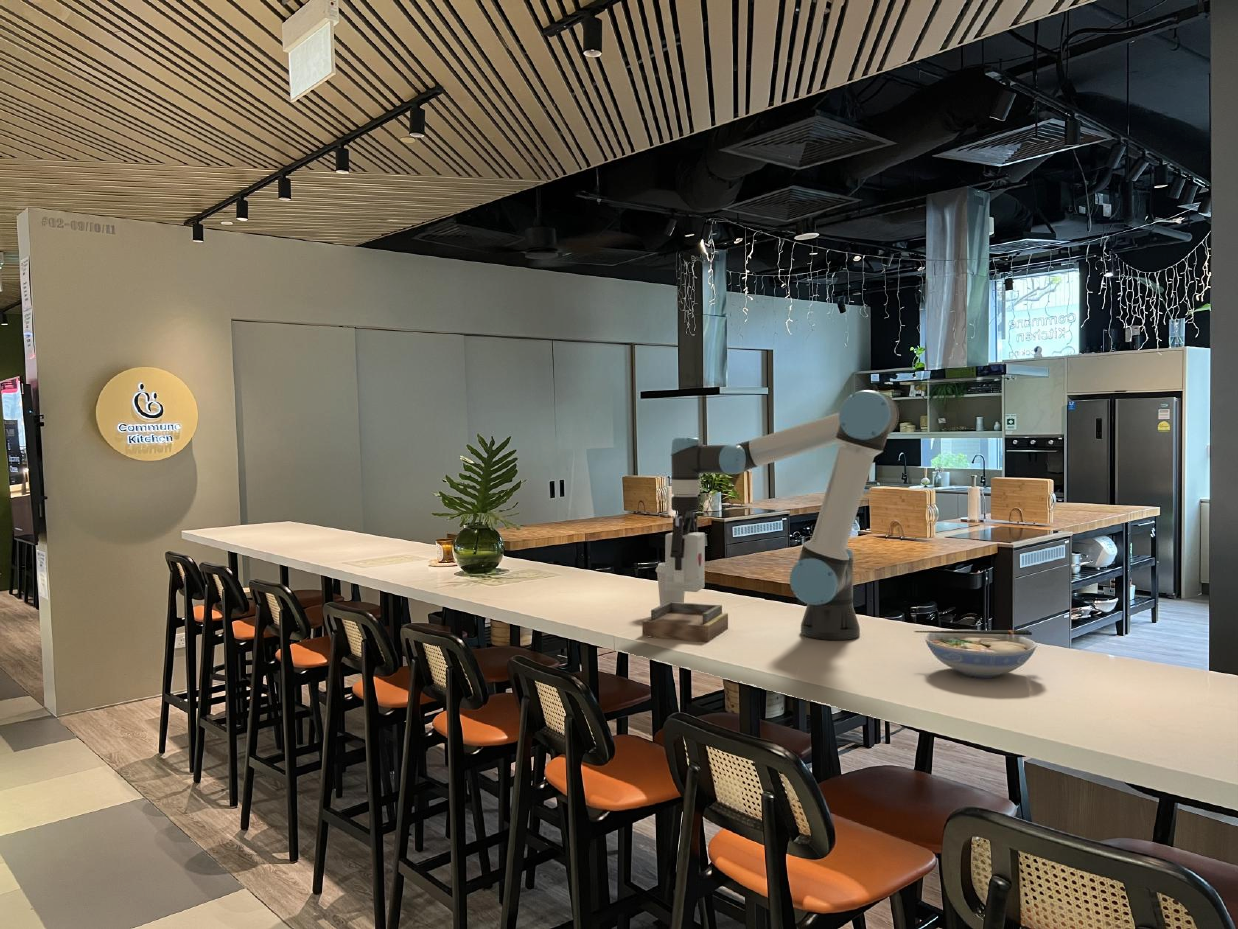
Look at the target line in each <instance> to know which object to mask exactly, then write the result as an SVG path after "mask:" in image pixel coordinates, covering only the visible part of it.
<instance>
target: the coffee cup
mask: <svg viewBox="0 0 1238 929" xmlns="http://www.w3.org/2000/svg"><path fill="white" fill-rule="evenodd" d="M655 572H656V574H657V584H658V597H659V606H661V605H663V604H665V603H667V602H679V603H685V593H686V591H669V590H665V562H660V563H658V565H657V567H656V568H655Z"/></svg>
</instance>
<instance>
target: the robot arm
mask: <svg viewBox="0 0 1238 929" xmlns="http://www.w3.org/2000/svg"><path fill="white" fill-rule="evenodd" d="M899 418H900V412H899V407H898V405H897V404H896V402H895V401H894V399H892V397H890V396H889V395H887V394H885V393H881V392H879V391H876V390H871V389H862V390H858V391H855V392H853V393H851V394H850V395H848V397H846V399H845V400H844V401H843V402H842V404H841V406H840V408H839V412H836V413H833V414H830V415H827V416H824V417H821V418H818V419H814V420H812V421H808V422H805V423H801V424H798V425H795V426H792V427H789V428H785V429H782V430H779V431H775V432H773V433H769V434H766V435H762V436H760V437H756V438H754V439H750V440H748V441H743V442H740V443H738V444H737V443H736V444H716V445H715V444H713V445H712V444H711V445H705V444H701V441H700V438H698V437H675V438H673V440H672V442H671V453H670V456H671V458H670V459H671V460H670V462H671V482H670V483H669V486H670V487H671V494H672V495H673V496H672V497H671V498H670V499H671V510H672V511H675V512H677V516H676V517H673V518H672V532H671V533H672V546H671V554H670V556H671V557H673V558H674V582H677V583H685V558H683V555H684V546H685V538H682V537H683V535H687V534H688V533H694V532H699V527H698V526H699V525H698V521H699V520H698V518H699V516H698V514H694V512H697V511H698V512H699V510H700V507H701V504H700V502H701V500H700V499H701V498H700V497H699V496H698V495H700V493H701V482H700V480H701V477H700V474H716V475H718V474H719V475H737V474H742V473H745V472H748V471H749V470H752V469H755V468H758V467H761V466H764V465H768V464H771V463H774V462H778V461H782V460H784V459H789V458H792V457H795V456H799V455H802V454H806V453H809V452H813V451H815V450H821V449H823V448H827V447H830V446H834V445H836V444H838V451H837V455H836V457H835V461H834V464H833V466H832V470H831V473H830V477H829V480H828V483H827V488H826V490H825V493H824V496H823V500H822V503H821V505H820V506H821V507H820V509H819V513H818V516H817V520H816V523H815V527H814V530H813V532H812V536H811V538H810V540H809V539H808V540H807V541H805V542H803V544H802V548H801V551H800V554H799V557H798V560H797V562H796V563H795V564H794V565H793V567H792V568H791V571H790V574H789V585H790V588H791V590H792V592H793V594H794V596H795V597H796V598H797V599H799V601H801V602H803V603H805V604H807V605H806V608H805V612H804V614H803V618H802V621H801V623H800V634H801V635H803V636H804V637H807V638H811V639H817V640H825V641H826V640H827V641H828V640H832V641H842V640H843V641H846V640H852V639H857V638H859V637H860V636H861V633H860V632H861V627H860V624H859V621H858V617H857V615H856V610H855V609H854V595H853V594H854V561H855V560H854V557H853V550H851V548H847V546H848V543H849V541H850V540H849V539H850V536H851V534H852V530H853V527H854V523H855V521H856V517H857V513H858V510H859V507H860V504H861V501H862V497H863V494H864V492H865V487H866V484H867V481H868V478H869V474H870V472H871V468H872V466H873V462H874V459H875V457H876V456H878V455H880V454H881V453H883V452H884V449H885V446H886V443H887V440H888V436H889V435H890V434H891V433H892V432H893V431H894V430H895V429H896V428H897V425H898V423H899Z"/></svg>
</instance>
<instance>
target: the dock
mask: <svg viewBox="0 0 1238 929" xmlns="http://www.w3.org/2000/svg"><path fill="white" fill-rule="evenodd" d="M641 625H642V626H641V627H642V628H641V630H642V631H641V634H642V636H651V637H650V638H653V637H657V638H656V639H668V640H678V641H679V640H680V641H690V642H703V643H704V642H706V643H709V642H711V641H712V640H714V639H716V636H717V637H719V636H720V635H721V634H722V633H724V632H725V631H727V630H728V629H729V612H723V605H722V604H705V603H691V602H684V603H679V602H667V603H665V604H663V605H661V606H660V605H658V606H657V607H655V608H653V609H651V610H650V617H648V618H646V619H644V620H642V622H641ZM642 636H641V637H642Z"/></svg>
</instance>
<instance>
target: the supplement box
mask: <svg viewBox="0 0 1238 929" xmlns="http://www.w3.org/2000/svg"><path fill="white" fill-rule="evenodd" d="M672 533H673V532H670V533H666V534H665V538H664V539H665V540H664V541H665V542H664V543H665V546H664V548H665V549H664V550H665V554H664V555H665V556H664V558H665V559H664V561H665V562H664V563H665V590H669V591H685V592H688V593H689V592H691V593H698V592H699V591H701V590H703V589H704V588H705V579H706V578H705V575H706V574H705V573H706V572H705V569H706V568H705V566H706V565H705V563H706V560H705V558H706V557H705V556H706V554H705V553H706V552H705V550H706V549H705V548H706V547H705V545H706V544H705V540H706V538H705V537H706V536H705V535H706V533H705V532H699V531H698V532H694V533H688V534H687V535H683V537H682V538H685V546H684V555H683V558H685V583H677V582H674V558H673V557H671V556H670V554H671V546H672Z"/></svg>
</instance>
